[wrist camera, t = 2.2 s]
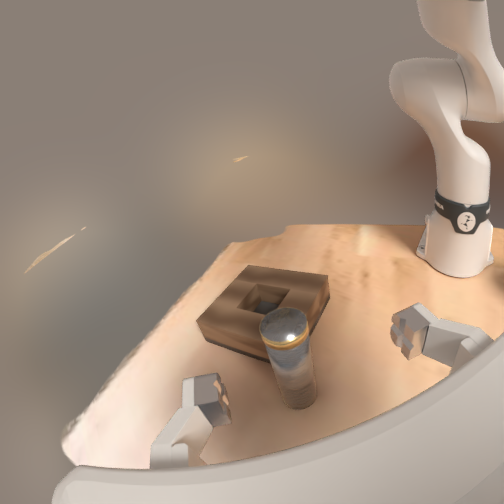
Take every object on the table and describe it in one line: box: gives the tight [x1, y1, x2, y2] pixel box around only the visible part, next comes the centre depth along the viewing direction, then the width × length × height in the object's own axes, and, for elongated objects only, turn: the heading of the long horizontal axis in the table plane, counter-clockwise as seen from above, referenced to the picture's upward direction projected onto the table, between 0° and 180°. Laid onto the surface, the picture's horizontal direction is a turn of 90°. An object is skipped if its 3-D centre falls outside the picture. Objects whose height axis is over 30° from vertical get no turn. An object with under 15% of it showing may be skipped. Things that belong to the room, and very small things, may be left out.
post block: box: [196, 265, 330, 363], centre depth 45 cm, size 16×16×5 cm
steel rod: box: [259, 307, 317, 410], centre depth 29 cm, size 5×5×14 cm
